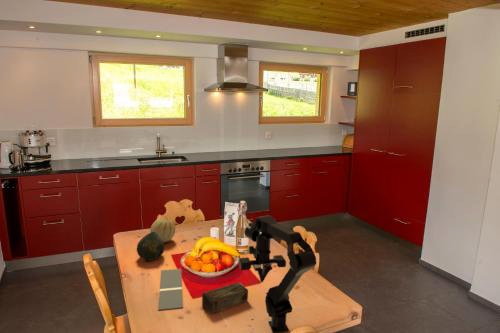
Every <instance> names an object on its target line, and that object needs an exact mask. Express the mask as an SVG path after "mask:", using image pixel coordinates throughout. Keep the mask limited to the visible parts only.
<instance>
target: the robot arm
mask: <svg viewBox="0 0 500 333" xmlns="http://www.w3.org/2000/svg"><path fill="white" fill-rule="evenodd" d="M244 237H246V238H247V239H249V240H251V241H252V242H253V243H255V246H253V245H251V246H250V245H249V246H248V254H249V255H253V258H254V260H253V259H252V260H250V258H249V257H248V256H247V257H240V258H239V259H238V265H239V268H240V270H241V271H249V270H250V269H251V268H252V267H253V270H254V271H255V272H257V274H258V278H259V281H260V283H264V280H265V279H266V277H267V275H268V274H269V273H270V271H271V270H273V267H272V265H275V264H276V266H277V267H278V268H285V267H287V260H286V259H285V257H284V256H283V255H282V254H278V255H273V257H272V258H271V256H270V255H271V240H272V239H274V237H276V238H277V239H280V240H281V241H283V242H285V244H286V246H287V249H286V250H287V252H286V256H287V257H288V260H289V261H288V264H289V269H288V270H287V271H286V273H285V275H284V276H283V278H282V280H281V281H280V282H279V284H278V285H276V286H273V287H272V286H271V287H269V289H268V291H267V292H265V294H266V295H265V299H264V301H265V308H266V313H267V314H268V315H267V316H268V317H269V318H271V320H268V326H269V328H270V327H271V328H270V330H271V332H272V333H283V332H289V330H290V329H289V327H288V325H287V315H288V314H290V313H292V312H293V307H292V304H291V302H290V295H289V294H290V293H291V291H292V290H293V289H294V287H295V286H296V284H297V283H298V282H299V280H300V279H301V277H302V276H303V275H304V274H305V273H308V272H309V271H311V270H312V269H314V268H315V266H316V265H317V257H316V254H315V252H314V250H313V248H312V247H311V245H310V244H309V243H308V242H307V241H306V240H305V239H304V238H303V235H302V234H301V232H299V231H295V230H293V229H290V228H288V227H287V226H284V225H282V224H280V223H278V222H277V221H276V219H275V218H274V217H273V216H272V215H267V214H266V215H262V216H257V217H255V219H254V221H253V222H248V225H247V226H246V228H245V229H244ZM296 244H297V245H298V246H299V247H300V248H301V249H302V250H303V251H301V252H298V253H295V250H294V245H296Z"/></svg>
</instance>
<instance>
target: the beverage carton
mask: <svg viewBox="0 0 500 333" xmlns="http://www.w3.org/2000/svg"><path fill="white" fill-rule="evenodd" d="M201 297H202V298H201V300H202V301H201V306H202V307H203V308H204V310H206V312H207V313H208V314H209V315H211V314H215V313H217V312H221V311H223V310H226V309H230V308H233V307H235V306H238V305H241V304H243V303H242V302H244V303H246V302H248V301H249V300H248V298H249V289H248V288H247V287H245V286H244V285H243V284H242V283H241V282H240V281H239V282H236V283H233V284H232V283H231V284H228V285H224V286H222V287H218V288H215V289H211V290H208V291H205V292H202V293H201ZM245 301H246V302H245ZM240 303H241V304H240ZM237 304H238V305H237ZM229 307H230V308H229Z"/></svg>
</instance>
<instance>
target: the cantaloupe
mask: <svg viewBox="0 0 500 333" xmlns="http://www.w3.org/2000/svg"><path fill="white" fill-rule="evenodd" d="M151 232H156V233H157V234H158V236H159V237H160V238H161V239H162V241H163V243H164V244H165V243H168V242H170V241H172V239H173V238H174V236H175V234H176V226H175V224H174V222H173V221H171V220H170V219H168V218H167V217H165V218H157V219H156V220H155V221H154V222H153V223H152V225H151V226H150V231H149V233H151Z"/></svg>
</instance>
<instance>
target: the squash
mask: <svg viewBox="0 0 500 333" xmlns="http://www.w3.org/2000/svg"><path fill="white" fill-rule="evenodd" d="M136 252H137V256H139V257H140V258H142V259H143V260H144V261H145V262H149V261H150V260H151V261H154V260H156V259H158V258H160V257H162V254H164V252H165V243H163V241H162V239H161V238H160V237H159V236H158V234H157V233H156V232H151V233H150V232H149V233H147V234H145V235H144V236H142V238H140V240H138V243H137V246H136Z"/></svg>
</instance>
